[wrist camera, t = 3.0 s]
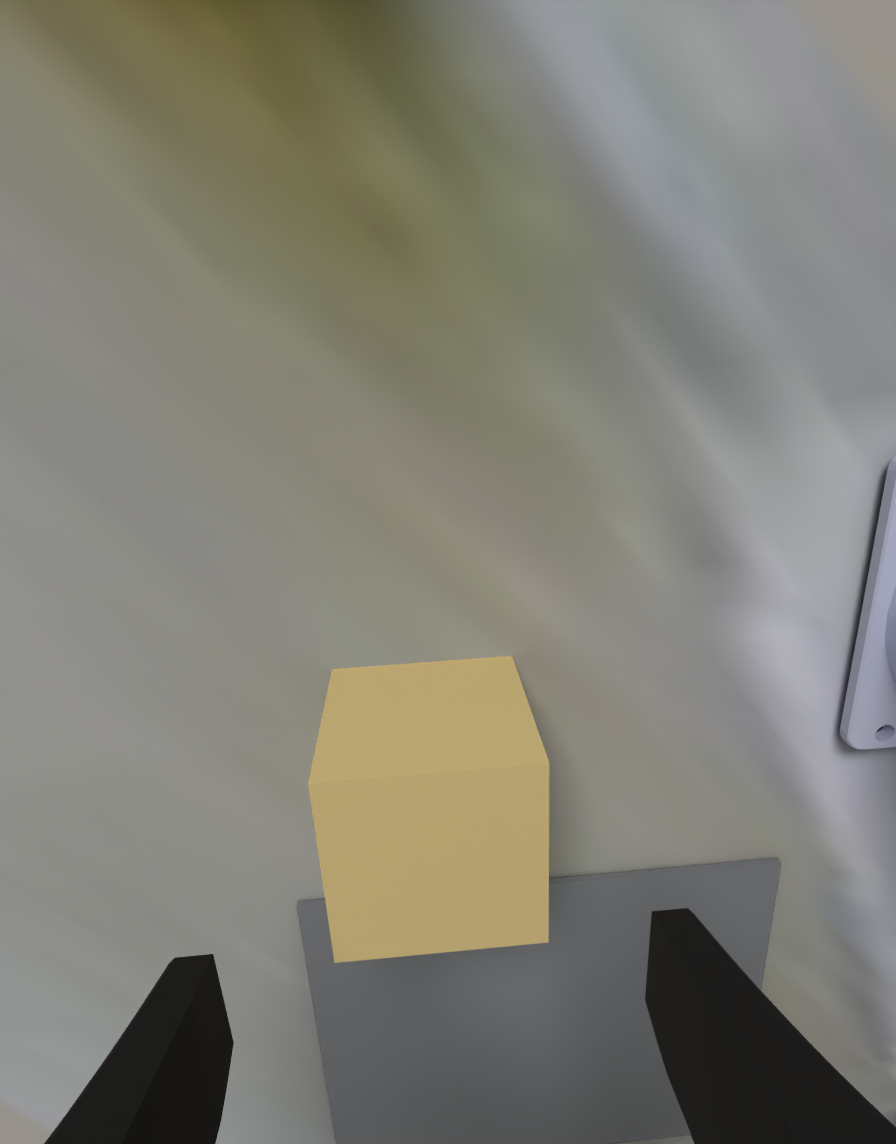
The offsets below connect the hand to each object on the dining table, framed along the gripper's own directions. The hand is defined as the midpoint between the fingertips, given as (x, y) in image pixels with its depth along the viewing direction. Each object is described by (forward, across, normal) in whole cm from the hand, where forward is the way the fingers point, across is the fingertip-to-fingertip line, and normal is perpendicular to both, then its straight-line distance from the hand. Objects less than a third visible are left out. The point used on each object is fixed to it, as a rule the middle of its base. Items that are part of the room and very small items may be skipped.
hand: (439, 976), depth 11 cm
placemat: (+7, -3, +11) cm, 13 cm away
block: (+7, 0, 0) cm, 7 cm away
